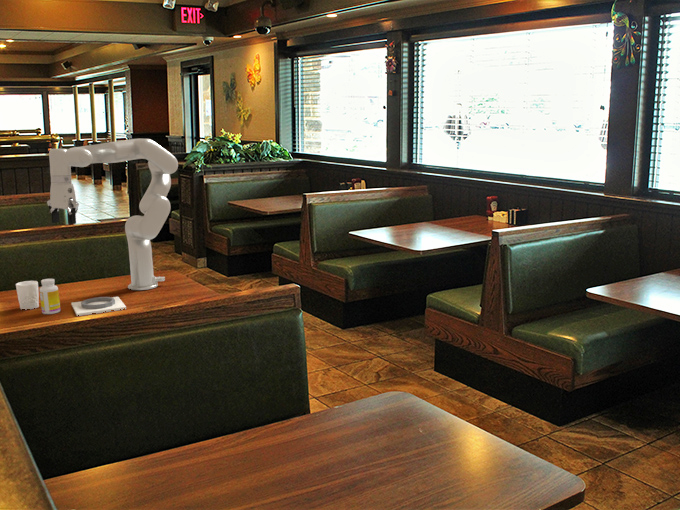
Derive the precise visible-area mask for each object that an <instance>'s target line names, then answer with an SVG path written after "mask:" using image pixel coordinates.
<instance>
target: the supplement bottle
mask: <svg viewBox="0 0 680 510" xmlns="http://www.w3.org/2000/svg"><path fill="white" fill-rule="evenodd" d="M40 283H41V284H40V285H41V286H40V287H39V288H38V291H39V297H40V299H39V301H40V307H41V313H42V314H43V315H54V314H58V313H60V312H61V310H62V309H61V301H60V293H59V292H60V291H59V287H58V286H57V285H55V283H56V282H55V278H44V279H42V280H40Z"/></svg>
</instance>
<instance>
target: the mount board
mask: <svg viewBox="0 0 680 510" xmlns="http://www.w3.org/2000/svg"><path fill="white" fill-rule="evenodd" d="M71 307H72V309H73V310H74V313H75V315H76V317H80V316H87V315H89V316H90V315H93V314H92V313H96V314H103V312H104V313H109V312H112V311H111V310H114V311H113V312H117V311H122V310H123V309H124V308H125V310H127V305H125V303H124V302H123V301H122V299H120V297H119V296H113V297H112V296H111V297H110V296H98V297H91V298H87V299H84V300H83V301H75V302H71ZM120 309H121V310H120ZM105 311H106V312H105ZM123 311H124V310H123ZM96 314H95V315H96ZM78 315H79V316H78Z"/></svg>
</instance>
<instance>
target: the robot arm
mask: <svg viewBox="0 0 680 510" xmlns="http://www.w3.org/2000/svg"><path fill="white" fill-rule="evenodd" d="M48 155H49V156H48V158H49V159H48V160H49V171H50V172H49V173H50V189H49V190H50V191H49V198H50V199H48V200H47V201H46V204H47V206H48V209H49V213H50V214H51V223H53V224H55V223H57V224H58V223H60V220H61V219H60V212H59V211H60V210H66V211H67V213H68V214H67V222H68V223H67V224H68V225H76V224H77V215H76V214H77V212H78V211H79V205H80V203H79V202H78V201H77V198H76V190H75V187H74V184H73V183H72V169H71V168H72V167H77V168H78V167H79V168H84V167H88V166H89V165H91V164H113V163H114V164H115V163H121V162H127V161H133V160H141V159H143V160H147V161H148V162H147V165H148V169H149V171H150V174H151V181H150V183H149V186H148V187H147V189H146V191H145V193H144V194H143V197H142V198H141V200H140V202H139V206H138V209H139V211H140V212H141V213H142V214H144V215H139V214H138V215H132V216H130V217H128V219H127V220H126V222H125V225H124V233H125V236H126V240H127V244H128V245H127V246H128V257H129V269H130V280H131V281H130V283H129V284H128V285H127V288H128V289H129V290H130V289H131V291H145V290H152V289H155V288H157V287H158V286H159V283H158V282H165V280H166V277H165V276H155V275H154V263H153V251H152V250H153V249H152V243H151V240H153V239H155V238H156V237H157V236H158V234H159V233H160V231H161V230H162V228H163V226H164V224H165V222H166V221H167V219H168V216H169V214H170V213H171V202H170V200H169V199H168V198H167V196H168V193H169V192H170V190H171V186H172V179H171V175H172V174H174V173H176V171H177V170H178V169H179V168H178V167H179V162H178V159H177V158H176V156H174V155H173V154H172V153H171V152H170V151H168V150H167V149H166V148H164V147H162V146H161V145H160V144H158V143H157V142H156V141H154V140H153V139H151V138H132V139H125V140H118V141H110V142H103V143H102V142H101V143H97V144H89V145H83V146H76V147H70V148H51V149H50V150H49V154H48Z"/></svg>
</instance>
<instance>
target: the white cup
mask: <svg viewBox="0 0 680 510" xmlns="http://www.w3.org/2000/svg"><path fill="white" fill-rule="evenodd" d="M15 288H16V293H17V300H18V303H19V309H20V310H22V309H25V310H24V311H28V310H27V309H30V310H35V309H37V308H39V307H40V304H39V303H40V302H39V301H40V299H39V297H40V292H39V282H38V281H37V280H25V281H20V282H17V283H15ZM34 308H35V309H34Z"/></svg>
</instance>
